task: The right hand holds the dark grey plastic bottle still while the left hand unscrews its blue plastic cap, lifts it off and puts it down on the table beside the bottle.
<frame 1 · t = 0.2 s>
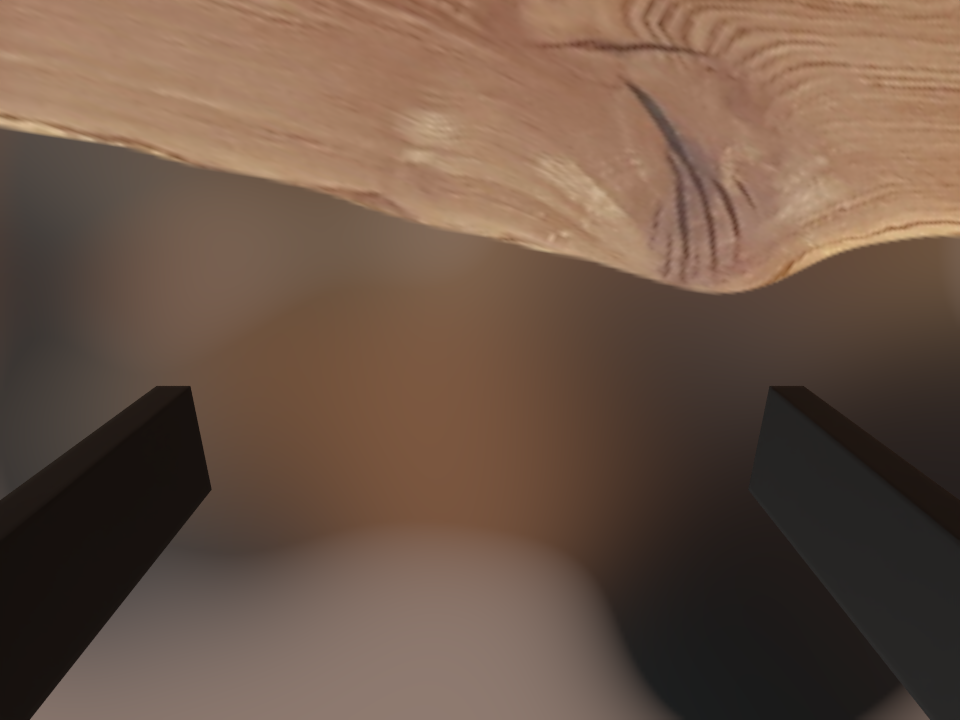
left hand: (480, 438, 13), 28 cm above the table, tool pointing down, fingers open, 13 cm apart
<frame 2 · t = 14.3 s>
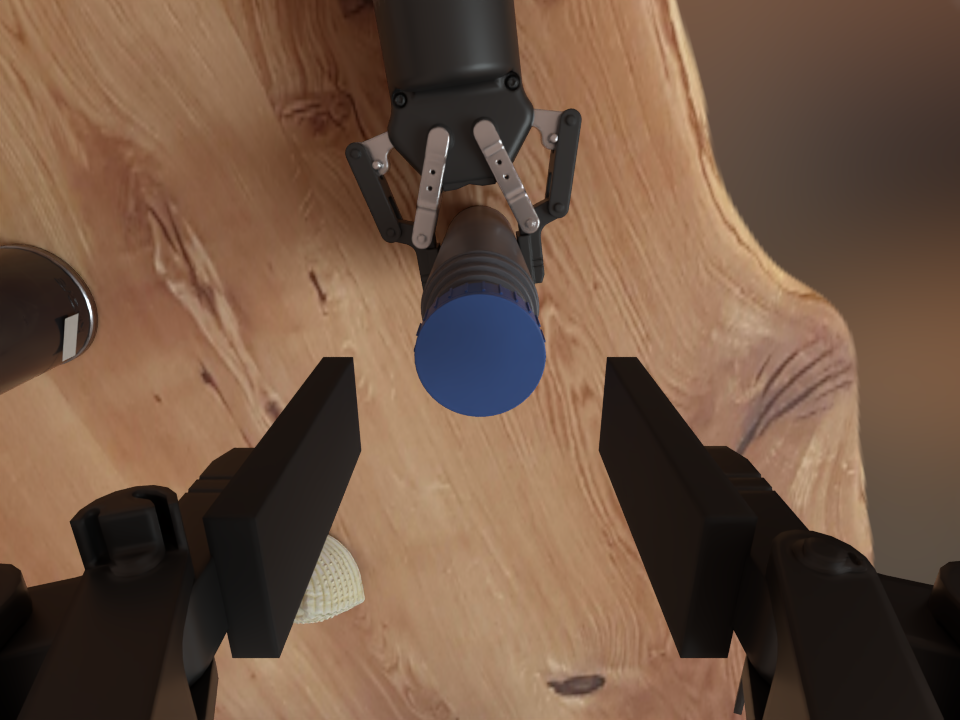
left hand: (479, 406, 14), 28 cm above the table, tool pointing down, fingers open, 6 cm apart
right hand: (485, 295, 36), fingers closed on bottle, 5 cm apart
cream knitted hat: (313, 564, 51), on the table
bottle: (479, 240, 41), on the table, touching right hand
cap: (480, 355, 18), point 24 cm above the table, screwed on, not yet turned
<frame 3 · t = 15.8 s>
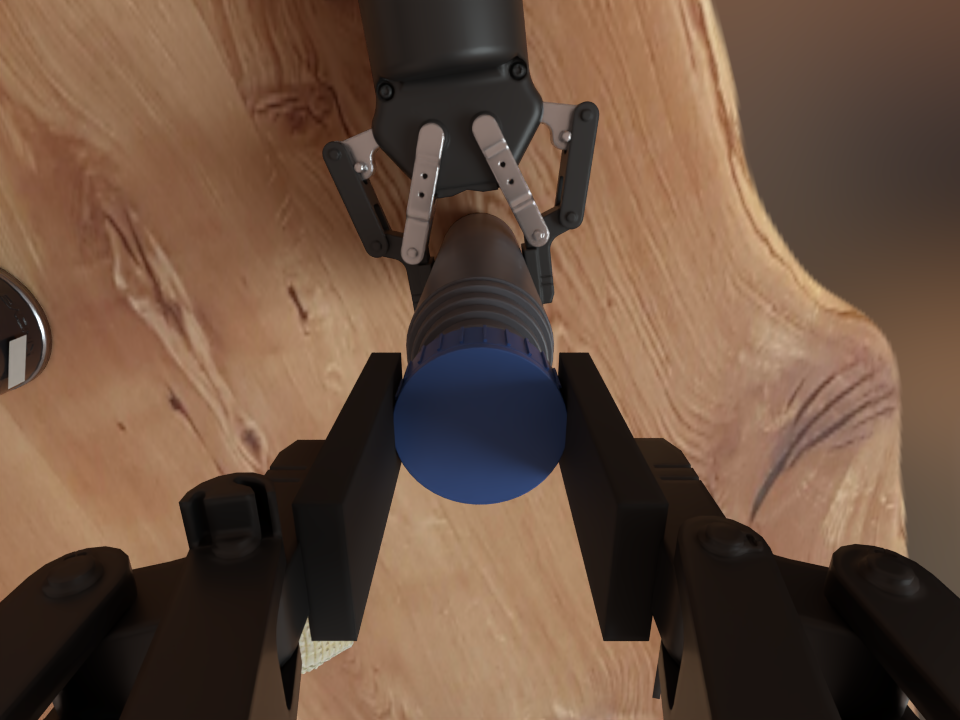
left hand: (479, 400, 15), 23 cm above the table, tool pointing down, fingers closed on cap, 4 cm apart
right hand: (485, 317, 31), fingers closed on bottle, 5 cm apart
cream knitted hat: (297, 604, 47), on the table
bottle: (479, 251, 36), on the table, touching right hand
cap: (480, 424, 13), point 24 cm above the table, screwed on, not yet turned, touching left hand
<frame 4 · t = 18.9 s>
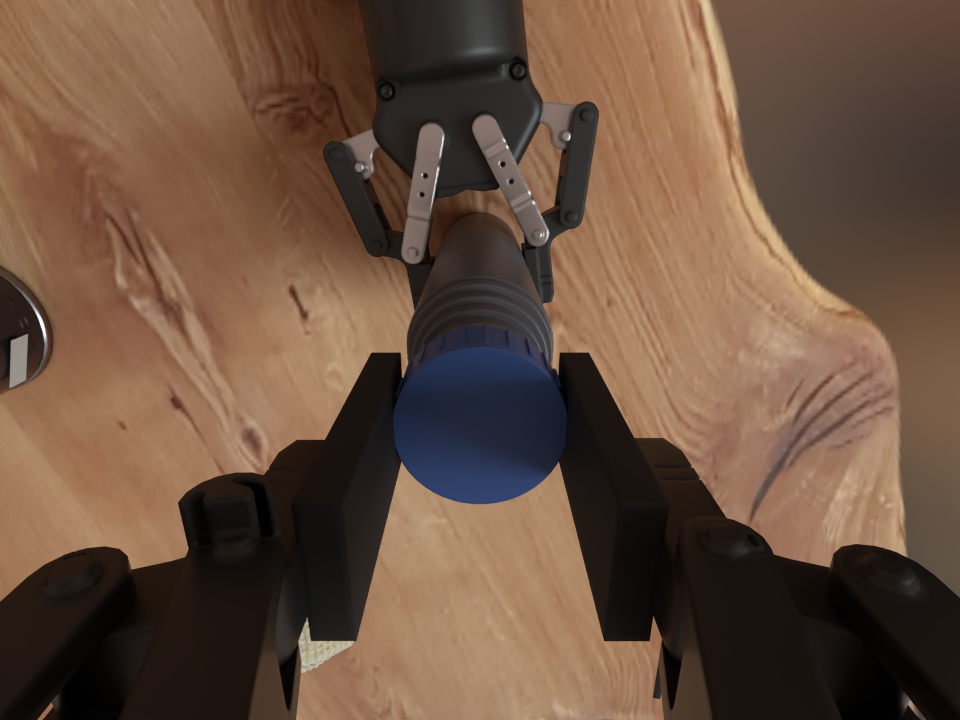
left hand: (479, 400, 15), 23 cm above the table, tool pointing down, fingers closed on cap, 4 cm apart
right hand: (485, 316, 31), fingers closed on bottle, 5 cm apart
cream knitted hat: (297, 603, 47), on the table
bottle: (479, 251, 36), on the table, touching right hand
cap: (480, 424, 13), point 24 cm above the table, turned 104° so far, risen 0.1 cm, still on its thread, touching left hand
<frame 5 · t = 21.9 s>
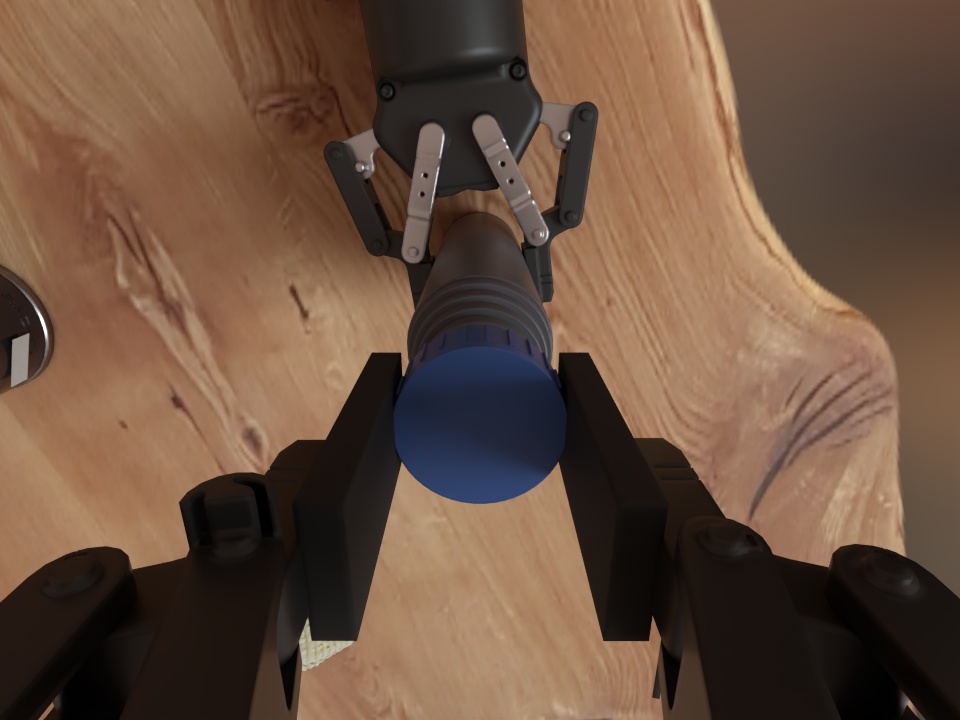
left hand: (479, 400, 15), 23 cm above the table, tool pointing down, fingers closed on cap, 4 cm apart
right hand: (485, 315, 31), fingers closed on bottle, 5 cm apart
cream knitted hat: (298, 602, 47), on the table
bottle: (479, 251, 36), on the table, touching right hand
cap: (480, 424, 13), point 24 cm above the table, turned 208° so far, risen 0.2 cm, still on its thread, touching left hand
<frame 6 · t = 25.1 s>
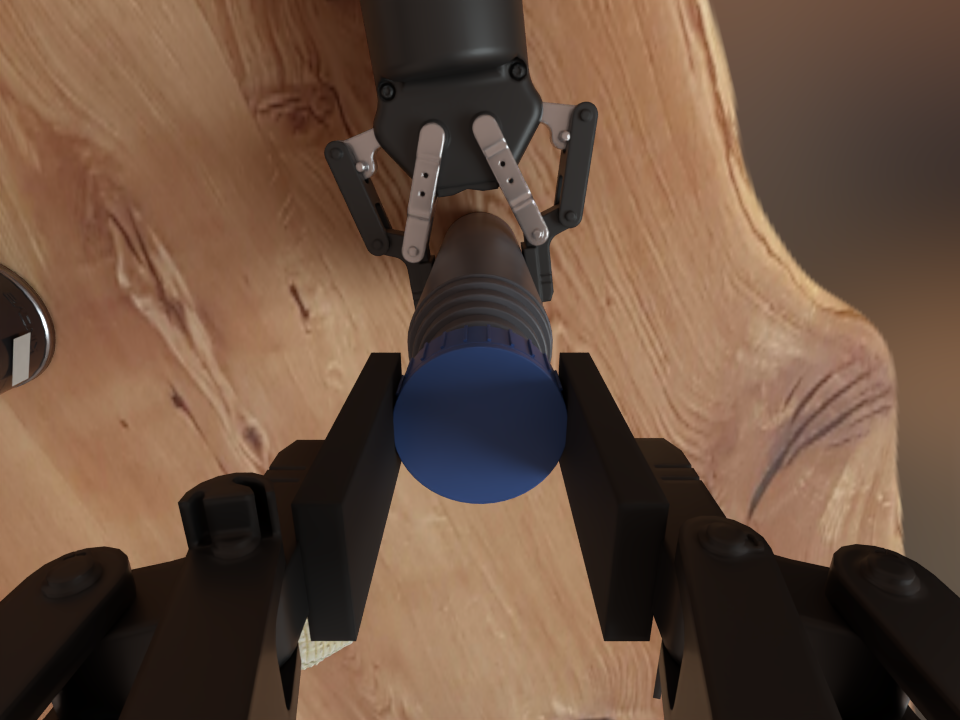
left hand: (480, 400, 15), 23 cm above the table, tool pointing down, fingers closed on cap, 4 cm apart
right hand: (485, 315, 31), fingers closed on bottle, 5 cm apart
cream knitted hat: (298, 601, 47), on the table
bottle: (479, 250, 36), on the table, touching right hand
cap: (480, 424, 13), point 25 cm above the table, turned 313° so far, risen 0.3 cm, still on its thread, touching left hand
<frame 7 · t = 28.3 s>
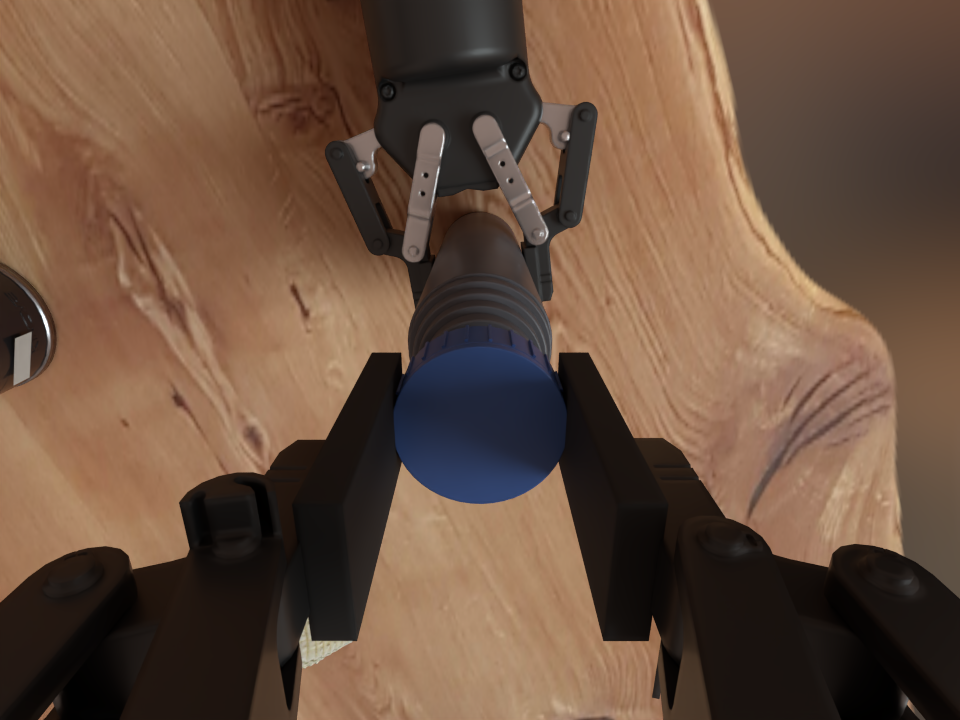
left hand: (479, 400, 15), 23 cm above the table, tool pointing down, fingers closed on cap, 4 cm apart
right hand: (485, 314, 31), fingers closed on bottle, 5 cm apart
cream knitted hat: (298, 600, 47), on the table
bottle: (479, 250, 36), on the table, touching right hand
cap: (480, 424, 13), point 25 cm above the table, turned 417° so far, risen 0.4 cm, still on its thread, touching left hand
when the left hand's fingers open (1 cm above the table, at t = 34.9 s): cap drops 2 cm, point 1 cm above the table.
when the right hand's fingers open (6 cm above the table, at t = 36.2 s): bottle stays where it is, on the table.
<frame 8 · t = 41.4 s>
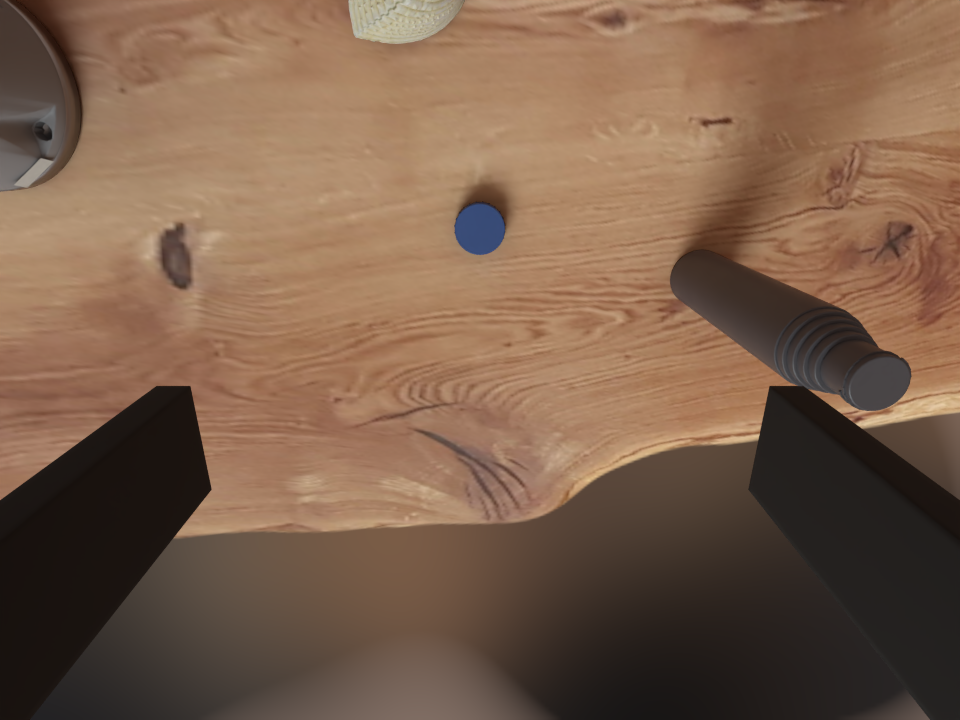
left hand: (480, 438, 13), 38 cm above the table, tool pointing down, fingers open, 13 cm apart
bottle: (697, 277, 49), on the table
cap: (479, 229, 47), point 1 cm above the table, off its thread
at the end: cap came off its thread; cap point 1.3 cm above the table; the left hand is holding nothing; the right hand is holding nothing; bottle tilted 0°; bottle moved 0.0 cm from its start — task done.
